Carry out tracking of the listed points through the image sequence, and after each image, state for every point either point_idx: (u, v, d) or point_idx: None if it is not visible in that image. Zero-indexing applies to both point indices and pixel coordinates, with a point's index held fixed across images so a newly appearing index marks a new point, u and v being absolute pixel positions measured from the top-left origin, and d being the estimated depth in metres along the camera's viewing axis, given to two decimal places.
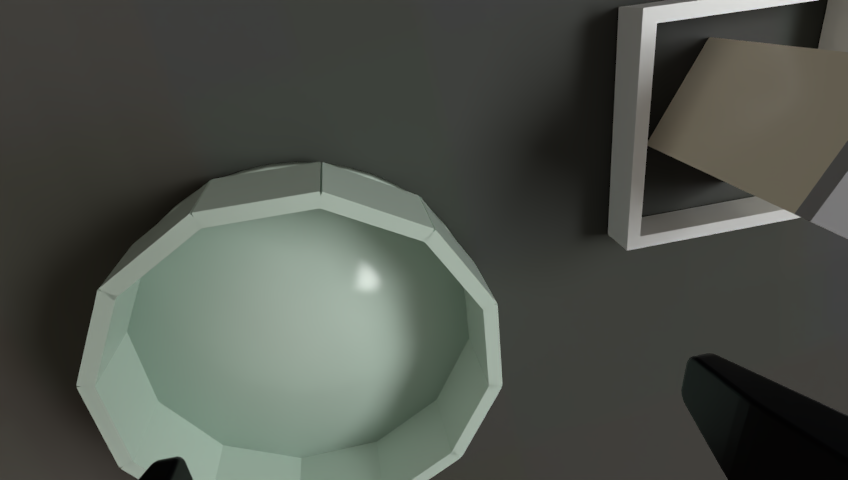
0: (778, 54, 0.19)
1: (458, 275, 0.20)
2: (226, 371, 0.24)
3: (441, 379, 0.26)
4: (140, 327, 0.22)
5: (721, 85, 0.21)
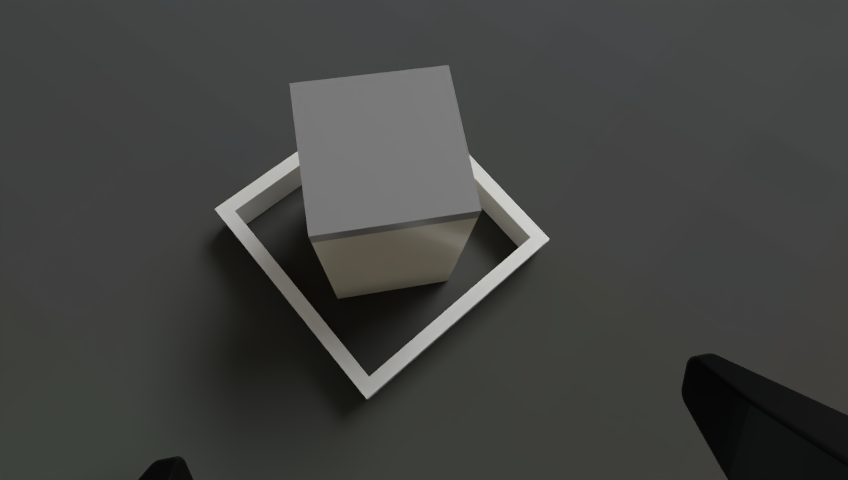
0: None
1: None
2: None
3: None
4: None
5: None
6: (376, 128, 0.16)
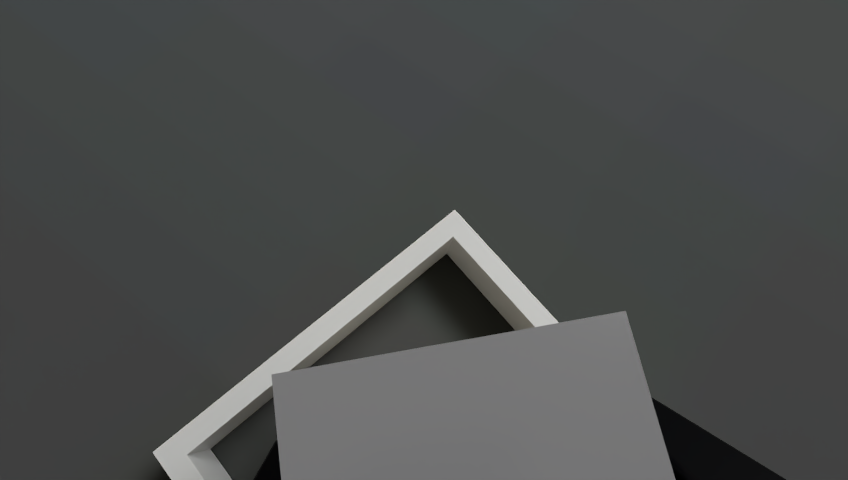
0: None
1: None
2: None
3: None
4: None
5: None
6: None
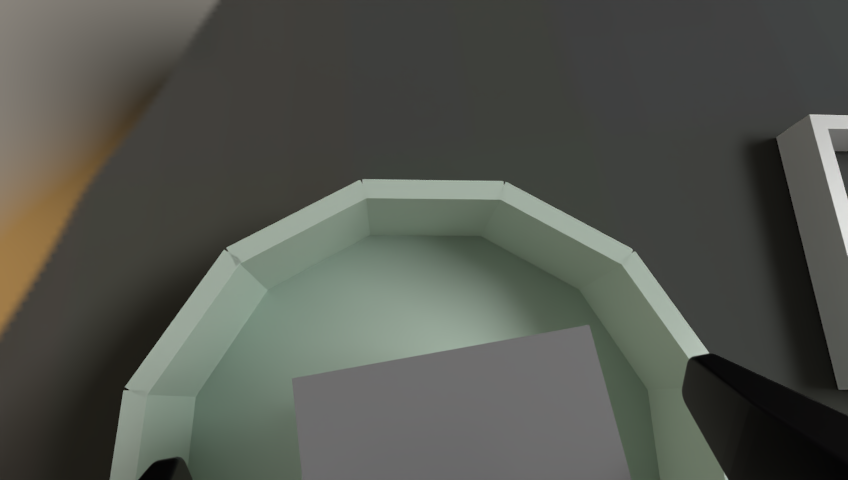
0: None
1: (668, 321, 0.15)
2: None
3: None
4: (214, 394, 0.17)
5: None
6: (463, 476, 0.08)
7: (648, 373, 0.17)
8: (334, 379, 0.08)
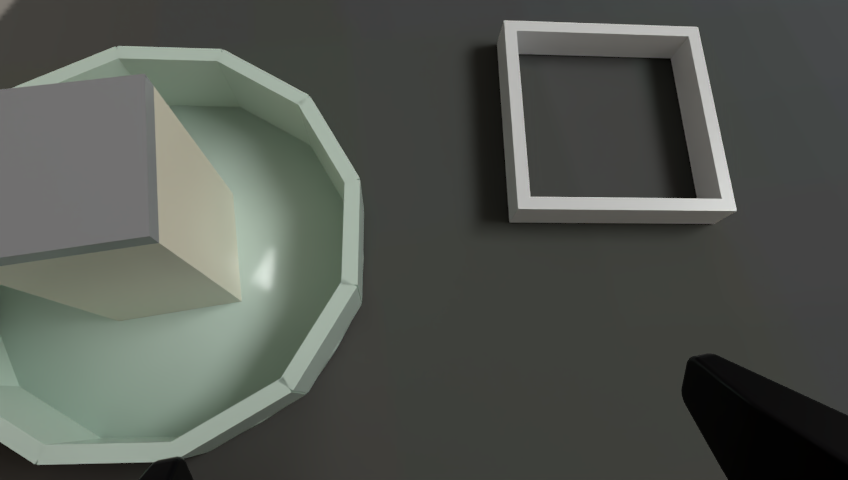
0: None
1: (324, 141, 0.21)
2: None
3: None
4: None
5: None
6: (46, 144, 0.14)
7: (343, 196, 0.23)
8: None
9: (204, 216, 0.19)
